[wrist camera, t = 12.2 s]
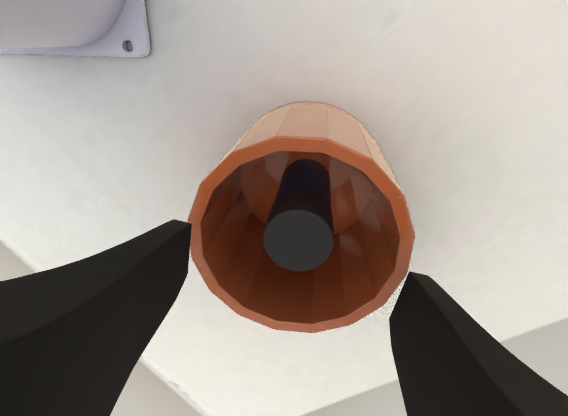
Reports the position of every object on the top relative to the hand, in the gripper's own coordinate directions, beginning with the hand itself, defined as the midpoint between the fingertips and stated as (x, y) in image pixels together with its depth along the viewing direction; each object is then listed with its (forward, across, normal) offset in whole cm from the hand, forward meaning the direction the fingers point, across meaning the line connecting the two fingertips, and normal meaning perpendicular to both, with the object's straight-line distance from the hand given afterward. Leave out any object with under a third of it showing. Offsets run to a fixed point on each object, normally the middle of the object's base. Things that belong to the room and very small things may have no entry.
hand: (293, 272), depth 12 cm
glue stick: (+8, 0, 0) cm, 8 cm away
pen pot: (+9, 0, 0) cm, 9 cm away
